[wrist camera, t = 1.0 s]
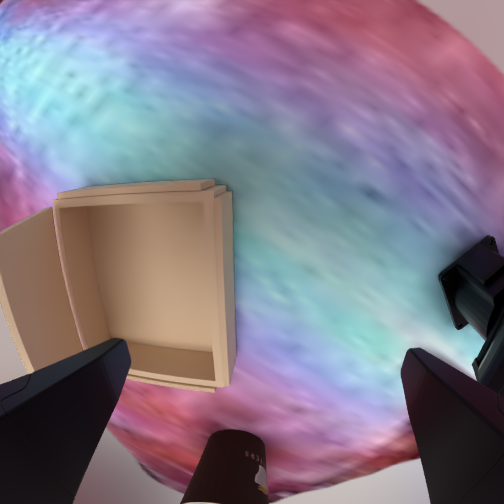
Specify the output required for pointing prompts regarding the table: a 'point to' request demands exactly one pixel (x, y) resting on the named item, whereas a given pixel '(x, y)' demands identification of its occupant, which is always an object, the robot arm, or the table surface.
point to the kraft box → (154, 276)
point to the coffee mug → (230, 471)
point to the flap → (36, 293)
